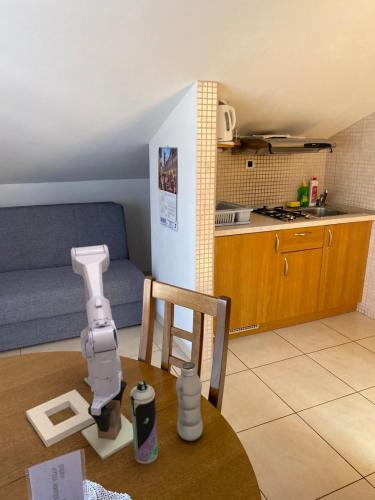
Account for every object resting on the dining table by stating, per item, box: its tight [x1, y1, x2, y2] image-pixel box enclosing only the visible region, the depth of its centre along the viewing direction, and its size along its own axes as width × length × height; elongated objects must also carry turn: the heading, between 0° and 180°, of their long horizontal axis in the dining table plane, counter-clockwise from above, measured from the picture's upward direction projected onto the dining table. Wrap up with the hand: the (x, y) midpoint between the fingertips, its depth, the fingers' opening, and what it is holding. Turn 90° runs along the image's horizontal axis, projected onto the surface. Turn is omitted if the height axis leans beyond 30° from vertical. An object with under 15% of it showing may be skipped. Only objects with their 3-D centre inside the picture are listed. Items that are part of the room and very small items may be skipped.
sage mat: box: [81, 413, 134, 460], centre depth 99 cm, size 11×11×1 cm
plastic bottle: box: [175, 361, 204, 442], centre depth 96 cm, size 6×7×20 cm
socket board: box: [25, 389, 96, 448], centre depth 105 cm, size 14×14×2 cm
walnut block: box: [97, 400, 122, 440], centre depth 98 cm, size 4×4×8 cm
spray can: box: [129, 380, 159, 465], centre depth 90 cm, size 6×6×20 cm
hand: (110, 419), depth 98 cm, fingers open, 7 cm apart
